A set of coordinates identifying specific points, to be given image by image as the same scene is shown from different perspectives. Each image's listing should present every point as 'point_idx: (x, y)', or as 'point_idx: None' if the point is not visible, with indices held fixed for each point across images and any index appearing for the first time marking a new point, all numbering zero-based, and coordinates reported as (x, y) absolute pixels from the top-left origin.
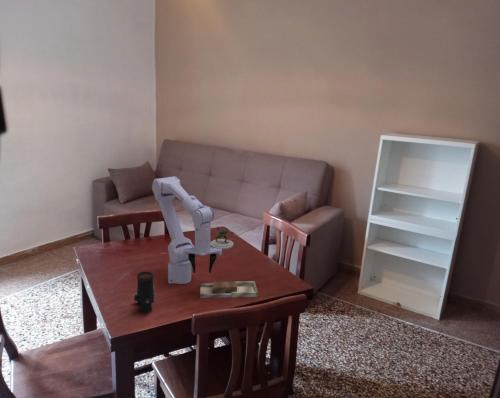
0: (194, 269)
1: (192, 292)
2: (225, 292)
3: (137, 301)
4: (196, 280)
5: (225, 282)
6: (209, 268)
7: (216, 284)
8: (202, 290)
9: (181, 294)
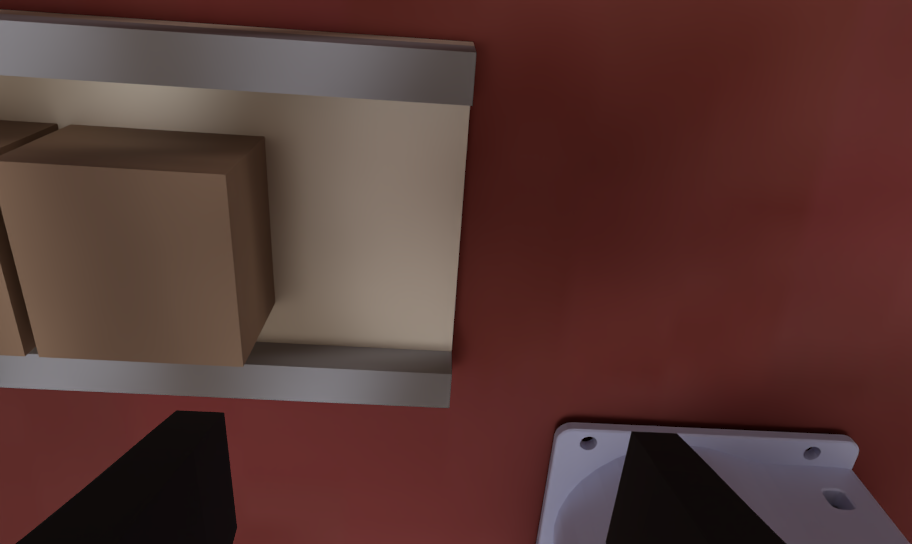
0: (707, 505)
1: (567, 262)
2: (35, 131)
3: None
4: (486, 521)
5: (8, 331)
6: (141, 507)
7: (167, 277)
8: (425, 267)
9: (729, 224)
